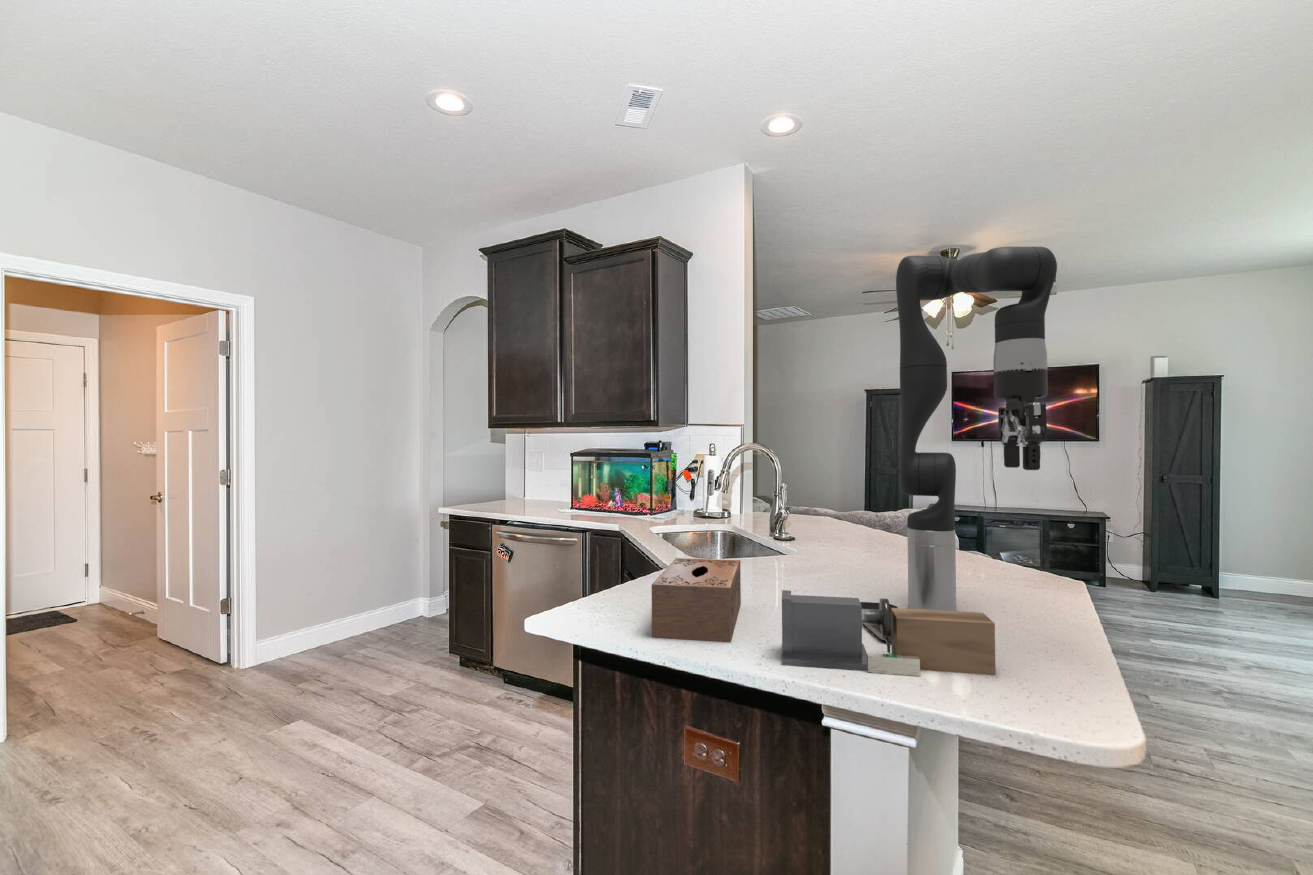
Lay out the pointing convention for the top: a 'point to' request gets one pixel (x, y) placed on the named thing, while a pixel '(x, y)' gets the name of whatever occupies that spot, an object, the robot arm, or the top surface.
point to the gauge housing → (833, 637)
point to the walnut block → (945, 639)
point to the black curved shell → (875, 628)
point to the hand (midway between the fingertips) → (1021, 468)
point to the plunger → (879, 619)
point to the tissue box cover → (697, 600)
